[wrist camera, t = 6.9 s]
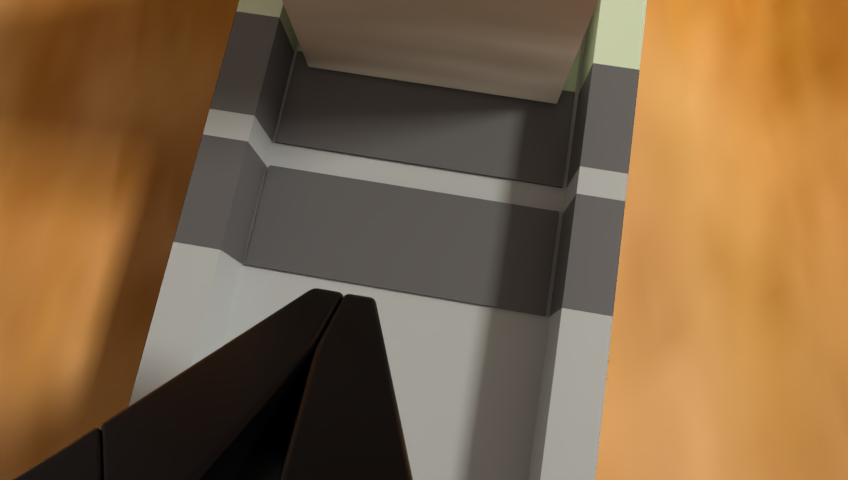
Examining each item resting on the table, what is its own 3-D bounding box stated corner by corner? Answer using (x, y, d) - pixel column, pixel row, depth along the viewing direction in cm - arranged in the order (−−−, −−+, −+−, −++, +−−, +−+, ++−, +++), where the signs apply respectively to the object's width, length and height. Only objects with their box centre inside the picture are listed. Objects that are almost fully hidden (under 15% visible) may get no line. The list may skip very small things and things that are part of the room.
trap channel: (549, 642, 13) (572, 692, 11) (136, 557, 14) (78, 588, 12) (632, -62, 17) (661, -130, 15) (306, -105, 18) (287, -177, 16)
